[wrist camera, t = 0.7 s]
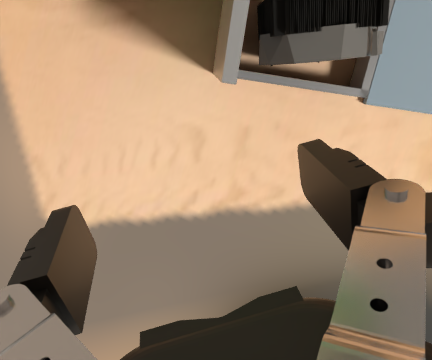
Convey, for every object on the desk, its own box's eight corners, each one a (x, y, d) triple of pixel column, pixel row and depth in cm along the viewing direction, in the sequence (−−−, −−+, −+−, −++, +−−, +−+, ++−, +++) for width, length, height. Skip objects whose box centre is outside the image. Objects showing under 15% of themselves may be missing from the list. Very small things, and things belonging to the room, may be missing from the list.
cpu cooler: (251, 66, 37) (271, 69, 27) (248, 6, 35) (267, -14, 25) (349, 56, 37) (402, 56, 27) (351, -4, 35) (409, -27, 25)
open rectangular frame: (228, -42, 33) (249, -108, 20) (383, -13, 35) (497, -56, 22) (212, 73, 37) (221, 82, 24) (354, 95, 38) (437, 115, 25)
